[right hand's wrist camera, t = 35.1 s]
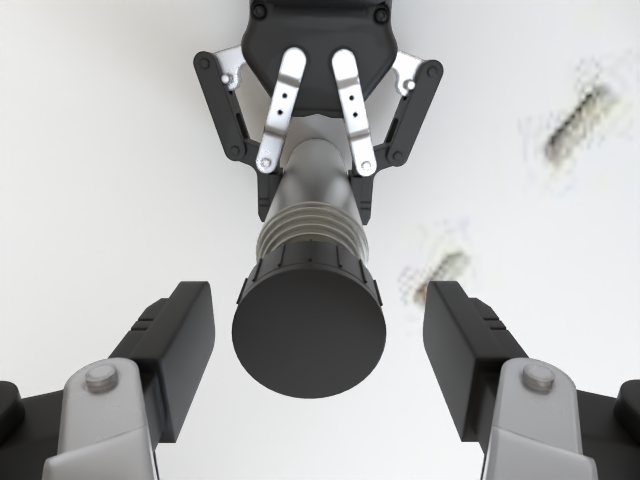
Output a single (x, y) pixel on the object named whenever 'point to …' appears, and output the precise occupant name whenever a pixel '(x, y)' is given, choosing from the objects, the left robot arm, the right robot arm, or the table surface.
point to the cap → (309, 321)
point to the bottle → (314, 203)
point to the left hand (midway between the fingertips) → (314, 227)
